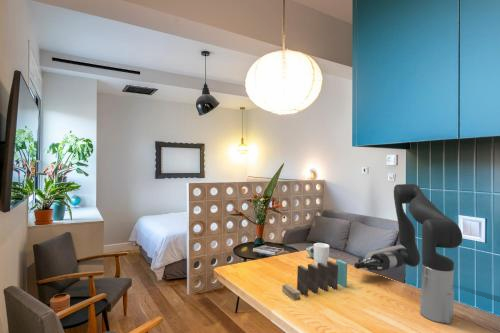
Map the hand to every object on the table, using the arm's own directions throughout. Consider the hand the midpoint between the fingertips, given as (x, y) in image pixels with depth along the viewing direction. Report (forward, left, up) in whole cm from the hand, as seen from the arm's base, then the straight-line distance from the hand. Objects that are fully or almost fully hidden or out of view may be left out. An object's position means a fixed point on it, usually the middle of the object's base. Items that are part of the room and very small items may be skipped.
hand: (355, 265), depth 130 cm
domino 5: (+3, +8, -7) cm, 11 cm away
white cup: (+22, -8, -7) cm, 24 cm away
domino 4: (+5, +12, -7) cm, 15 cm away
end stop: (+11, +31, -7) cm, 34 cm away
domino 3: (+6, +17, -7) cm, 19 cm away
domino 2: (+8, +22, -7) cm, 24 cm away
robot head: (+30, -13, -7) cm, 33 cm away
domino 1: (+10, +27, -7) cm, 29 cm away
